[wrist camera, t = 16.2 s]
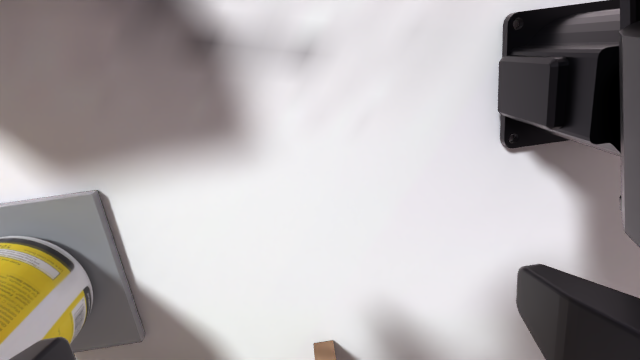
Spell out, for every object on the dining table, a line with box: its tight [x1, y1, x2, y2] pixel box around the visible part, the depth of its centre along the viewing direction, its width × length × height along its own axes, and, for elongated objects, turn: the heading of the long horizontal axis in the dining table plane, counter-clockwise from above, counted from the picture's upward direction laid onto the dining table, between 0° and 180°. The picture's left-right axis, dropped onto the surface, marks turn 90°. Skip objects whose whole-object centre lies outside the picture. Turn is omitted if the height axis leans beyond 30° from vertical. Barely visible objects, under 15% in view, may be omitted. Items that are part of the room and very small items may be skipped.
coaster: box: [0, 190, 145, 353], centre depth 21 cm, size 9×9×1 cm
